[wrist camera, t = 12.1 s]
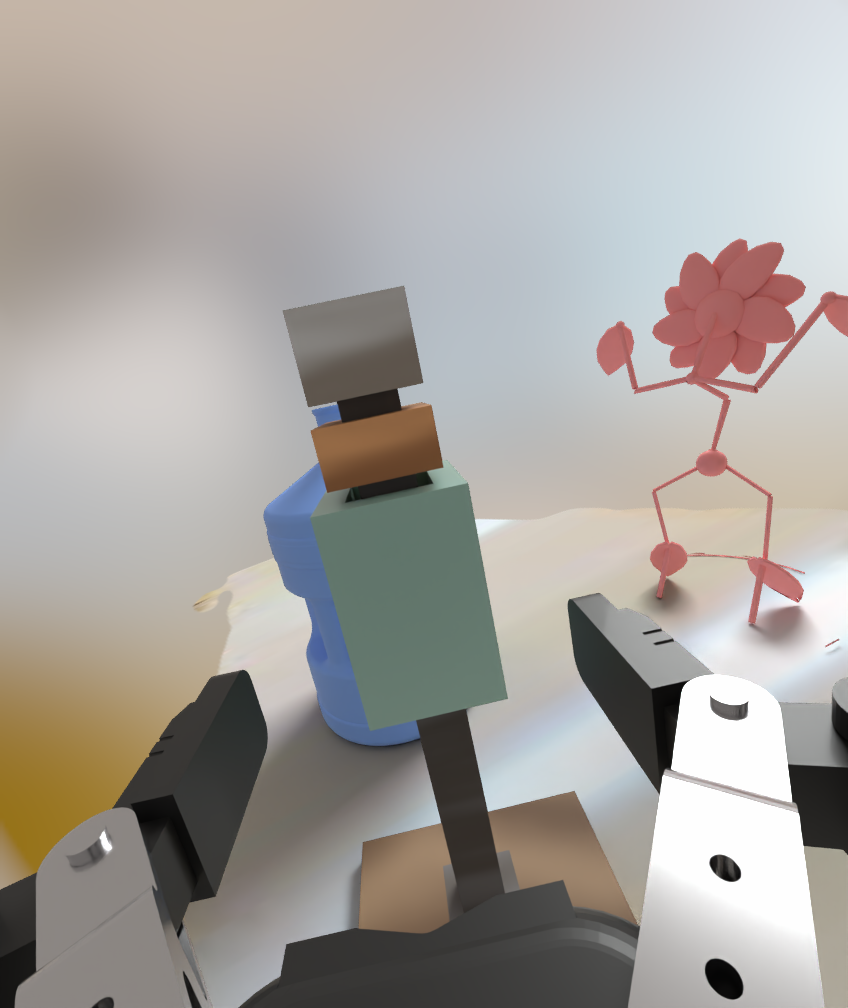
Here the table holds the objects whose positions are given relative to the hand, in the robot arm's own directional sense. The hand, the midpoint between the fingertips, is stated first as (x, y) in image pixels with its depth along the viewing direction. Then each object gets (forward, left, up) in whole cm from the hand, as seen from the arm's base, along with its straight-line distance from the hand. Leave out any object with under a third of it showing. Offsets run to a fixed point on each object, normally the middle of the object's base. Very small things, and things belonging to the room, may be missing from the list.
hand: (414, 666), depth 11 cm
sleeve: (+4, -5, -5) cm, 8 cm away
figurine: (-4, -48, -22) cm, 53 cm away
